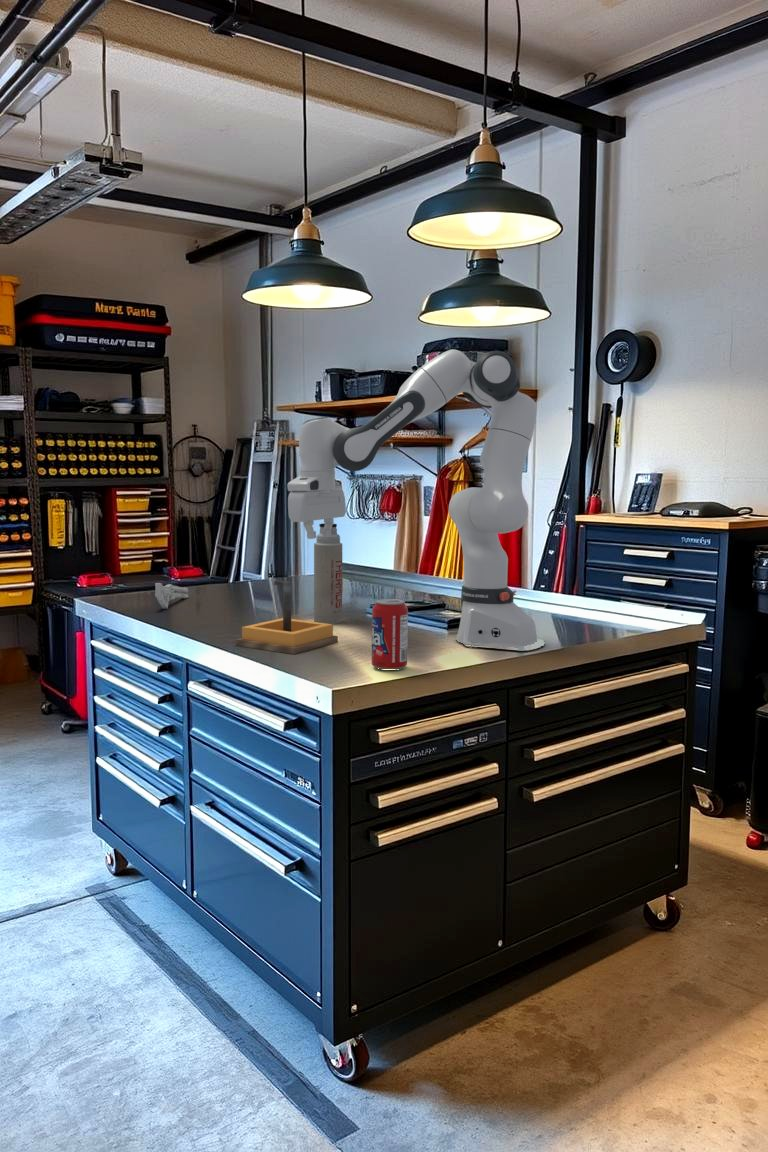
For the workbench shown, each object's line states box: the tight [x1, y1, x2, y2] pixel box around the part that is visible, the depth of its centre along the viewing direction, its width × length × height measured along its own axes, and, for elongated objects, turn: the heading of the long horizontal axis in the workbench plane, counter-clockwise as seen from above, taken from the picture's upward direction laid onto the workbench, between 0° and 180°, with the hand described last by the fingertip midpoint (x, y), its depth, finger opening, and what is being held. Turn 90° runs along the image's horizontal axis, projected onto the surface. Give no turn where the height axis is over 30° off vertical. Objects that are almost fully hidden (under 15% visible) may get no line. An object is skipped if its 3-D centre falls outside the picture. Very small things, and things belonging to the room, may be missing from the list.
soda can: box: [371, 598, 409, 670], centre depth 194 cm, size 8×8×15 cm
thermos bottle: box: [313, 522, 343, 625], centre depth 250 cm, size 8×8×28 cm
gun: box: [154, 582, 189, 610], centre depth 279 cm, size 2×30×8 cm, turn 176°
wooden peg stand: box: [235, 580, 339, 655], centre depth 220 cm, size 18×18×16 cm
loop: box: [241, 617, 334, 647], centre depth 220 cm, size 16×16×3 cm
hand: (319, 537), depth 225 cm, fingers open, 5 cm apart
